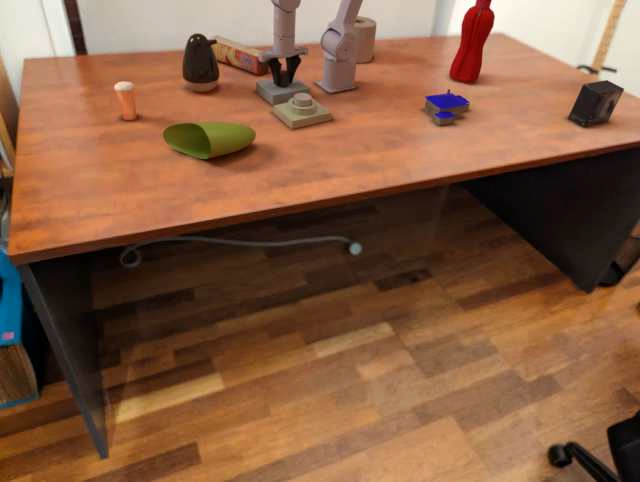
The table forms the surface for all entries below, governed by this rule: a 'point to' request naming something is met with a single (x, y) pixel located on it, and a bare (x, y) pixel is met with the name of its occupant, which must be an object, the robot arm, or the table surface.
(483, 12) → the water bottle
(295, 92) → the dial panel
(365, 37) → the toilet paper roll
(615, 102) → the small box
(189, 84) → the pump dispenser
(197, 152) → the green scoop
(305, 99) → the button
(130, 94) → the milkshake
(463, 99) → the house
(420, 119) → the table surface
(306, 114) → the button base
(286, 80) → the lock dial
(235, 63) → the snack package
